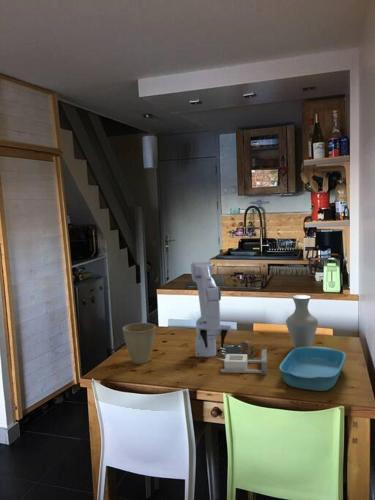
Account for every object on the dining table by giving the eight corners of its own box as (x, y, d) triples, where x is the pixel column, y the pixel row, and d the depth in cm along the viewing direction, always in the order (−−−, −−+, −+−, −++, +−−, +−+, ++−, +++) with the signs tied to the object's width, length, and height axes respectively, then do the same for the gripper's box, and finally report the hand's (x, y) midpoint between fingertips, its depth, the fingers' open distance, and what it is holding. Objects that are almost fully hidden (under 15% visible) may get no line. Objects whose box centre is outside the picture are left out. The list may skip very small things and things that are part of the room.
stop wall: (261, 375, 175) (261, 361, 174) (262, 361, 189) (261, 349, 189) (266, 375, 174) (266, 361, 174) (267, 361, 189) (266, 349, 189)
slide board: (217, 376, 178) (217, 371, 178) (221, 362, 193) (221, 357, 193) (267, 377, 174) (267, 372, 174) (267, 363, 190) (267, 358, 189)
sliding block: (224, 370, 181) (224, 361, 180) (226, 362, 189) (226, 353, 189) (246, 371, 179) (246, 361, 178) (247, 363, 188) (247, 354, 187)
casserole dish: (296, 358, 195) (295, 342, 194) (349, 364, 185) (348, 348, 184) (273, 390, 162) (272, 372, 162) (335, 400, 152) (335, 380, 151)
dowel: (240, 358, 197) (240, 343, 196) (241, 355, 201) (240, 340, 200) (249, 358, 196) (249, 343, 195) (250, 355, 200) (249, 340, 199)
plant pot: (147, 368, 190) (144, 333, 188) (118, 364, 196) (116, 330, 194) (163, 357, 203) (161, 323, 201) (135, 353, 209) (133, 321, 208)
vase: (315, 343, 213) (314, 293, 210) (321, 353, 198) (320, 299, 196) (284, 343, 214) (283, 293, 211) (288, 353, 200) (287, 300, 197)
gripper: (194, 318, 181) (196, 350, 182) (229, 318, 178) (230, 350, 180) (197, 314, 188) (198, 344, 189) (231, 314, 185) (232, 345, 187)
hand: (214, 347), depth 185 cm, fingers open, 6 cm apart
